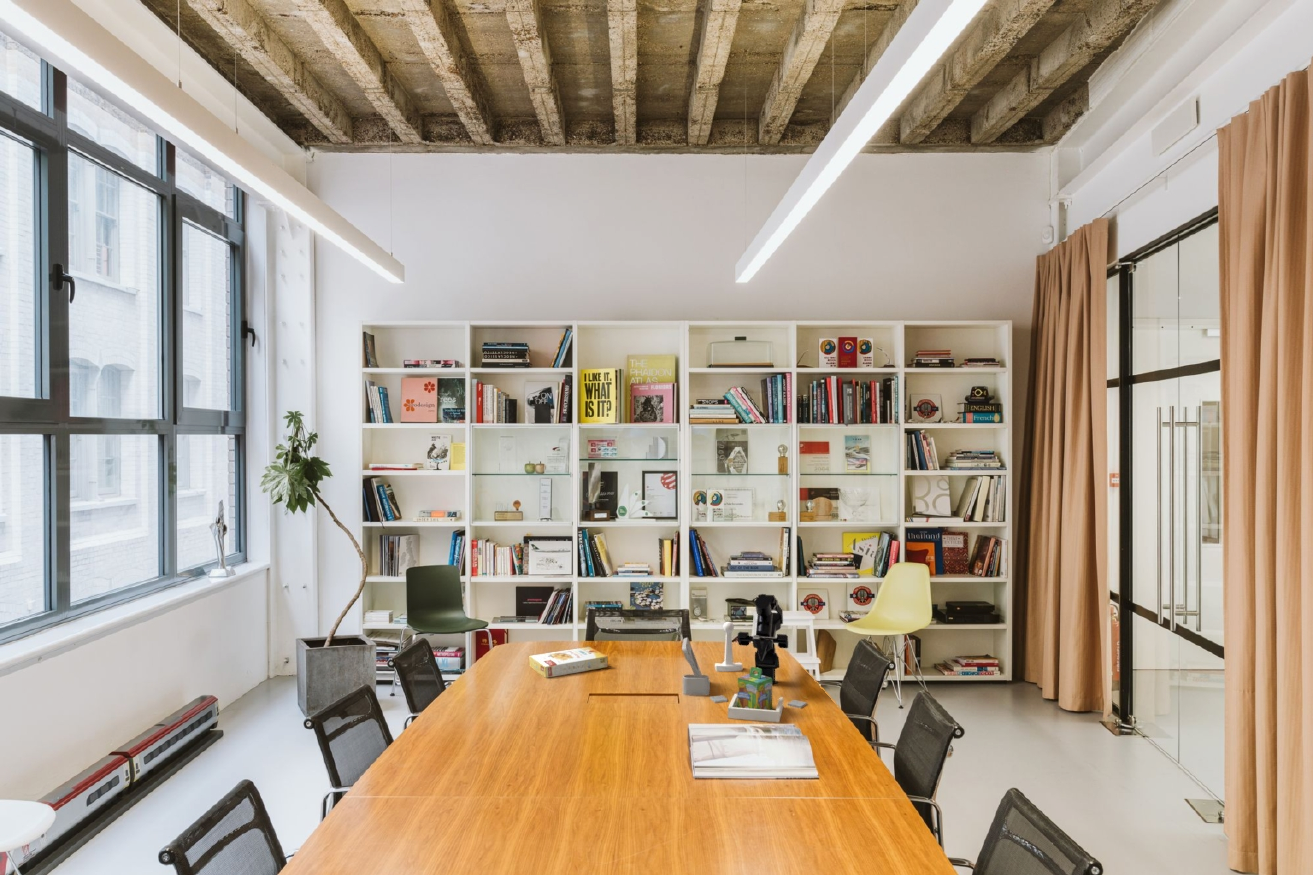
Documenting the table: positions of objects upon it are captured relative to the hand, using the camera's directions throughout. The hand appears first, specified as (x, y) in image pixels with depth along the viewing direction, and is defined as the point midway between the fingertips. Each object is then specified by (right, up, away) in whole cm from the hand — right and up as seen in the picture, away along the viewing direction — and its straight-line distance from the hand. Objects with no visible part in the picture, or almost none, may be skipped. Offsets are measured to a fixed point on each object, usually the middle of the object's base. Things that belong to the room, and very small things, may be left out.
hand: (761, 660), depth 285 cm
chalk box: (-4, -14, -14) cm, 20 cm away
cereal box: (-76, -15, +40) cm, 87 cm away
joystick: (-9, -14, +35) cm, 39 cm away
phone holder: (-23, -14, +11) cm, 30 cm away
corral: (-4, -14, -16) cm, 21 cm away
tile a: (+12, -14, -9) cm, 20 cm away
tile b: (-16, -14, -3) cm, 22 cm away
